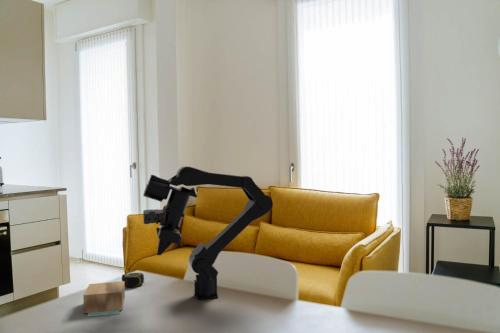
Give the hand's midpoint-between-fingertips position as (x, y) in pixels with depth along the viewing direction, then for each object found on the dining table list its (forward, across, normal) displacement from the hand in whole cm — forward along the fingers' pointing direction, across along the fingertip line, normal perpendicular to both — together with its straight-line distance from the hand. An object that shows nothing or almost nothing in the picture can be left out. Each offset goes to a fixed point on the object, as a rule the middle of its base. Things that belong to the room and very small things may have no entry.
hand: (158, 254), depth 122 cm
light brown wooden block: (+13, +3, -6) cm, 15 cm away
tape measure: (+17, -15, -2) cm, 23 cm away
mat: (+18, +3, -10) cm, 20 cm away
